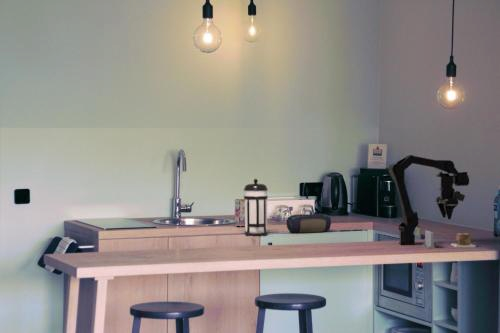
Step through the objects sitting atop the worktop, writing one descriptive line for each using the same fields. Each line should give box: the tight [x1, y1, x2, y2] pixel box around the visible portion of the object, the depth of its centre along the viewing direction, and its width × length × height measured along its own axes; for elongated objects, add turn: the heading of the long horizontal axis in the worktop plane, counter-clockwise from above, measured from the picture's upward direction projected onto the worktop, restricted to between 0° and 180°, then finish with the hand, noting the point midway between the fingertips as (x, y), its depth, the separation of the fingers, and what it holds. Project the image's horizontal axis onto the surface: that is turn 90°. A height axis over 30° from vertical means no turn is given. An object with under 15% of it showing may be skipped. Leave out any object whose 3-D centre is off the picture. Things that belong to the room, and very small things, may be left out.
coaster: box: [450, 243, 477, 249], centre depth 379 cm, size 9×9×1 cm
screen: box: [423, 230, 436, 249], centre depth 379 cm, size 3×11×7 cm, turn 2°
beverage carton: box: [414, 225, 422, 240], centre depth 421 cm, size 8×19×7 cm, turn 176°
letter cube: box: [455, 232, 471, 245], centre depth 379 cm, size 5×5×5 cm
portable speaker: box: [286, 213, 332, 234], centre depth 444 cm, size 25×10×10 cm, turn 110°
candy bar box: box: [234, 198, 245, 223], centre depth 478 cm, size 11×5×16 cm, turn 130°
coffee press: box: [243, 178, 269, 237], centre depth 431 cm, size 17×16×30 cm
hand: (446, 218), depth 391 cm, fingers open, 9 cm apart
